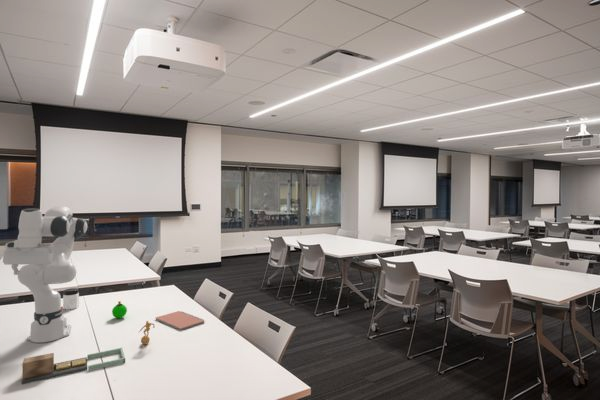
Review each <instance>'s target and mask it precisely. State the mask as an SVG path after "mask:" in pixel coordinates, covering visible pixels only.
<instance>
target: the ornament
mask: <svg viewBox="0 0 600 400" xmlns="http://www.w3.org/2000/svg"><path fill="white" fill-rule="evenodd" d="M127 312H128V307H127V306H126V305H124V304H122V302H121V301H120V300H119V301H118V304H116V305H115V306H113V308H112V310H111V314H112V316H113V317H114V318H115V319H121V318H123V317H125V315H126V314H127Z"/></svg>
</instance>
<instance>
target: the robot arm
mask: <svg viewBox="0 0 600 400" xmlns="http://www.w3.org/2000/svg"><path fill="white" fill-rule="evenodd" d="M87 230H88V222H87V220H86V219H84V218H81V217H80V218H79V217H78V218H77V217H73V211H72V209H71V208H70V207H68V206H64V205H57V206H54V207H51V208H49V209H48V210H46V211H45V213H44V215H43V210H42V209H40V208H37V207H35V208H33V207H32V208H25V209H21V212H20V215H19V220H18V235H17V239H15V240H12V241H10V242H6V243H5V246H4V247H5V248H6V249H5V250H4V252H3V255H2V263H3V264H4V265H6V266H7V265H10V266H11V268H12V270H13V275H14V276H17V279H18V282H19V283H20V284H21V285H23V286H25V287H26V288H28V290H29V291H30V292H31V293H32V296H33V300H34V313H33V320H34V321H32V322H31V323H30V335H28V336H27V338H26V340H27V341H31V342H32V343H37V344H38V343H47V342H52V341H56V340H59V339H61V338H66V337H69V336H70V334H71V330H72V325H71V324H68V323H67V322H68V321H67V320H68V319H67V318H66V317H65V316H64V315H63V310H64V309H63V306H62V304H61V303H62V298H61V297H62V296H61V293H60V292H58V291H57V290H55V289H53V288H52V287H50V285H59V284H65V283H69V282H72V281H73V280H74V279H75V278H76V275H77V269H76V266H75V265H74V264H73V263H72V262H69V259H70V256H71V255H72V253H73V249H74V247H75V239H76V240H79V239H80V238H81V237H83V236H84V235H85V234H86V233H87ZM43 237H56V239H55V240H54V241H53V242H52V243H51V244H50V243H42V241H43V240H42V239H43ZM19 265H23V266H22V267H21V268H20V269H19V268H18V267H19Z"/></svg>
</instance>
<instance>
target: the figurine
mask: <svg viewBox="0 0 600 400" xmlns="http://www.w3.org/2000/svg"><path fill="white" fill-rule="evenodd" d="M145 322H146V323H145V325H144V326H142V327H141V329H139V331H138V333H140V332H141V331H142V330H143V334H144V336H142V337H141V338H140V342H141V344H143V345H147V344H149V342H150V337H149V335H150V334H149V331H150V330H151V325H153V327H152V328H153V329H155V323H154V322H153V323H152V322H149V321H148V320H146V321H145Z"/></svg>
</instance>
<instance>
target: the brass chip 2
mask: <svg viewBox="0 0 600 400" xmlns="http://www.w3.org/2000/svg"><path fill="white" fill-rule="evenodd" d="M82 358H83V359H80V358H77V359H78V360H75V359H73V360H74V361H72V368H75V367H80V366H84V365H86V358H85V357H82Z"/></svg>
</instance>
